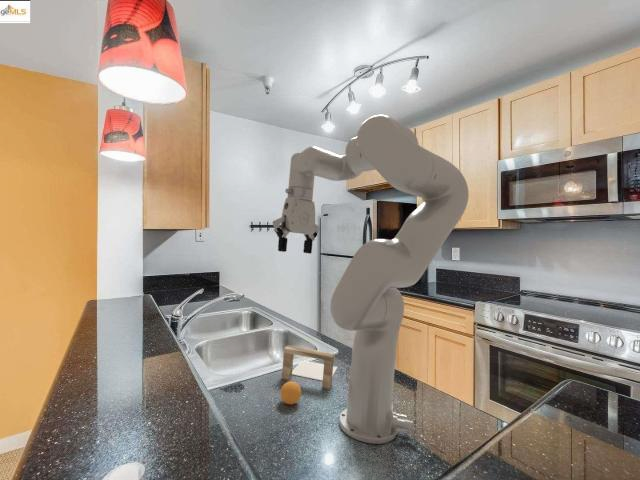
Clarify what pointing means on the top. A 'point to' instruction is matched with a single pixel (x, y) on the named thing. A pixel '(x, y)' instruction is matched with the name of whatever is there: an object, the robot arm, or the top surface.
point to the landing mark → (311, 370)
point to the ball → (290, 392)
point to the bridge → (325, 356)
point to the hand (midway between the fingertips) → (295, 252)
